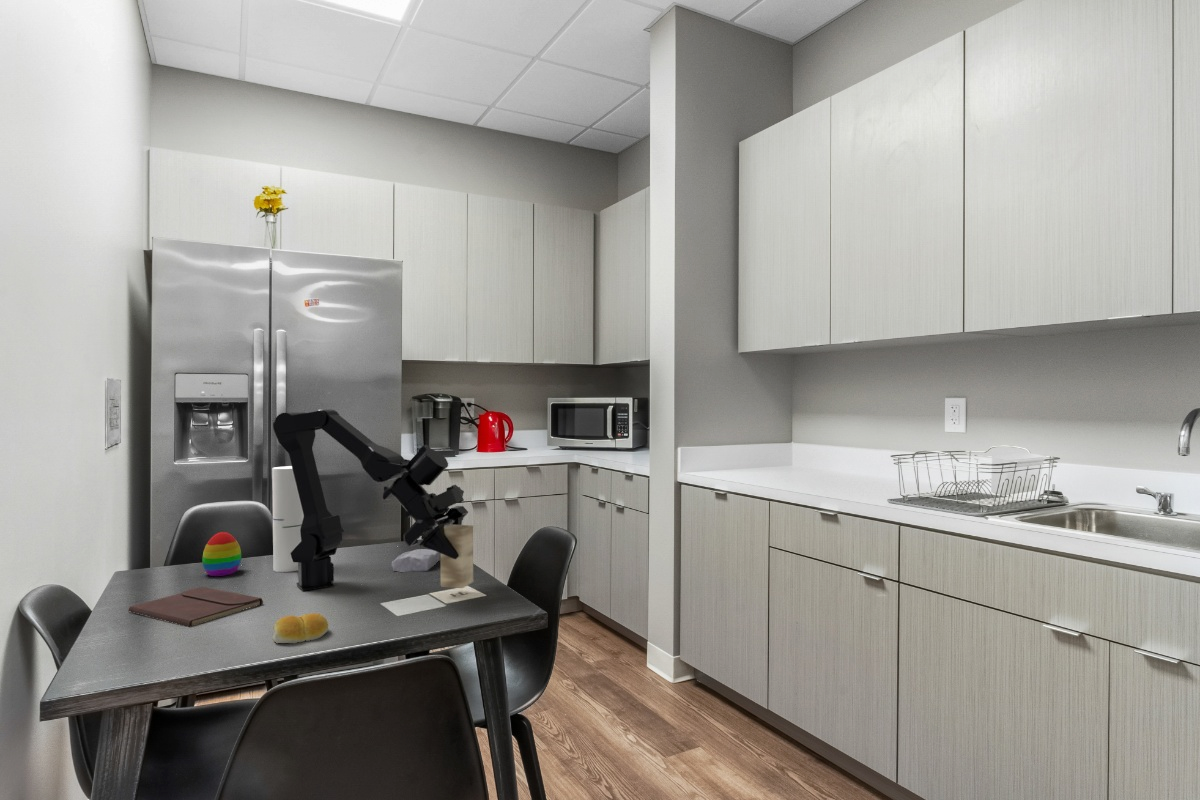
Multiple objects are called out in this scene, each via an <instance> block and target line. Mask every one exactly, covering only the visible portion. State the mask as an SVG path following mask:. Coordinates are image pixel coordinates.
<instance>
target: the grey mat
mask: <svg viewBox="0 0 1200 800" xmlns="http://www.w3.org/2000/svg"><path fill="white" fill-rule="evenodd" d="M379 604H380V605H381V606H383V607H384V608H385V609H387V610H388V611H390V612H391V613H392V614H394V615H395V616H397V617H401V616H404V615H410V614H414V613H421V612H424V611H429V610H435V609H439V608H444V607H447V604H446V603H444V602H442V601H441V600H439V599H437V598H436V597H434V596H432V595H430V594H429V593H428V594H423V595H417V596H413V597H407V598H401V599H396V600H390V601H386V602H380V603H379Z"/></svg>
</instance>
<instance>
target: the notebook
mask: <svg viewBox="0 0 1200 800" xmlns="http://www.w3.org/2000/svg"><path fill="white" fill-rule="evenodd" d="M260 604H262V605H263V604H264V600H263V599H262V597H258V596H252V595H249V594H248V595H247V594H242V593H237V592H232V591H227V590H221V589H217V588H216V589H215V588H211V587H206V586H199V587H195V588H191V589H188V590H185V591H182V592H180V593H177V594H173V595H169V596H164V597H161V598H158V599H154V600H150V601H146V602H143V603H139V604H135V605H131V606H129V607H128V612H129V611H131V612H135V613H139V614H143V615H147V616H150V617H154V618H158V619H162V620H166V621H169V622H168V623H171V622H173V623H172V624H175V623H177V624H176V625H179V624H180V626H183V625H184V627H187V626H188V628H190V626H191V627H193V625H194V626H197V625H199V623H200V624H204V623H206V622H205V621H207V622H209V621H208V620H210V621H213V620H217V619H219V618H218V617H220V618H223V617H226V616H229V615H228V614H230V615H231V613H233V614H235V613H234V612H236V613H238V612H237V611H239V612H241V611H240V610H243V609H246V608H249V607H252V608H254V607H253V606H256V605H259V606H261V605H260ZM256 607H257V606H256ZM249 609H250V608H249ZM246 610H247V609H246ZM243 611H244V610H243ZM225 615H226V616H225ZM222 616H223V617H222ZM150 617H149V618H150ZM154 618H153V619H154ZM216 618H217V619H216ZM158 619H157V620H158ZM212 619H213V620H212ZM162 620H161V621H162ZM166 621H165V622H166ZM203 622H204V623H203ZM196 624H197V625H196Z"/></svg>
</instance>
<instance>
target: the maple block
mask: <svg viewBox="0 0 1200 800" xmlns="http://www.w3.org/2000/svg"><path fill="white" fill-rule="evenodd" d="M444 534H445V535H446V537H447V538H448V540H449V541H450V543H451V544H452V545H453V547H454V548H455V550H456V551H457V553H458V555H459V556H458V557H457V559H453V558H451V557H448V556H446V555H444V554H441V553H440V587H441V588H444V587H445V588H451V589H455V588H464V587H466V586H469V585H471V584H472V583H474V525H470V524H469V525H468V524H467V525H466V524H462V525H449V526H447V527H444Z"/></svg>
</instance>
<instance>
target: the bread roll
mask: <svg viewBox="0 0 1200 800" xmlns="http://www.w3.org/2000/svg"><path fill="white" fill-rule="evenodd" d="M272 630H273V633H271V634H272V640H273V642H274V641H275V642H276V644H278V643H293V644H298V643H297V642H299V643H303V642H308V641H310V640H311V641H314V640H315V641H316V640H318V639H321V638H322V637H323V636H324V635H326V633H327V632H328V631H329V623H328V620H327V618H326V617H325V616H324V615H322V614H320V613H316V612H314V613H306V614H303V615H300V616H295V615H287V616H282V617H281V618H278V620H277V621H276V623H275V624H274V626H273V629H272ZM305 640H306V641H305ZM275 642H274V643H275Z"/></svg>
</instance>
